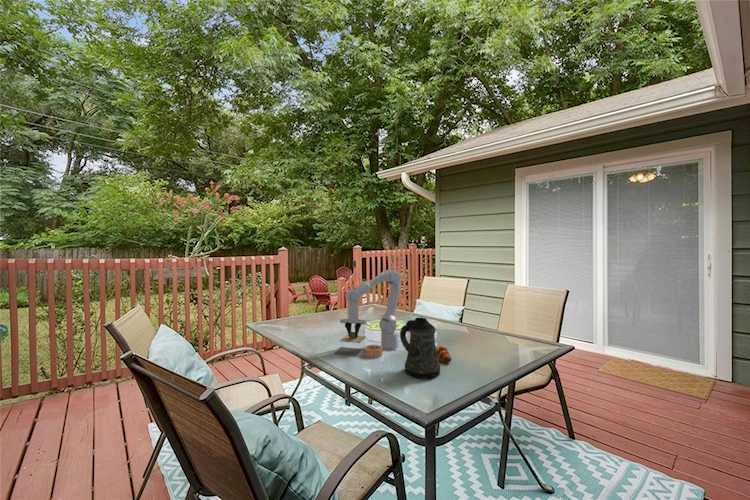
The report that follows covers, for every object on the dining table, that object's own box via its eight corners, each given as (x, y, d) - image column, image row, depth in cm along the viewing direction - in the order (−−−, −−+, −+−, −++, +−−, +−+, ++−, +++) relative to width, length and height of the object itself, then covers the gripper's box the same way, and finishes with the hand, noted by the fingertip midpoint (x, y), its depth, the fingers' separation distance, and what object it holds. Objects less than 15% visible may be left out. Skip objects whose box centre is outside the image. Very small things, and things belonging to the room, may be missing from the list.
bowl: (383, 354, 184) (383, 345, 184) (379, 359, 175) (380, 350, 175) (367, 352, 186) (367, 344, 186) (363, 357, 177) (363, 349, 177)
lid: (365, 337, 189) (365, 330, 189) (359, 343, 178) (359, 336, 178) (346, 335, 192) (346, 329, 192) (340, 341, 181) (340, 334, 181)
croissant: (423, 358, 188) (417, 346, 186) (437, 348, 191) (431, 336, 190) (446, 371, 168) (439, 358, 167) (460, 359, 172) (454, 346, 170)
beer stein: (440, 381, 149) (440, 324, 148) (395, 377, 153) (396, 321, 152) (440, 367, 165) (441, 316, 164) (400, 364, 169) (401, 314, 168)
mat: (362, 349, 191) (362, 348, 191) (355, 357, 178) (355, 356, 178) (340, 347, 194) (340, 346, 194) (332, 355, 182) (332, 354, 182)
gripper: (337, 312, 183) (337, 337, 183) (363, 314, 179) (363, 339, 179) (342, 310, 189) (342, 334, 190) (367, 311, 186) (367, 336, 186)
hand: (353, 336), depth 185 cm, fingers closed on lid, 3 cm apart
